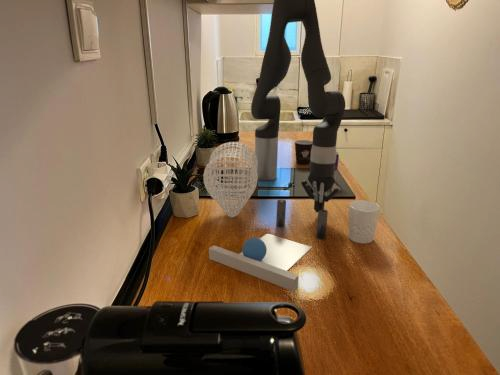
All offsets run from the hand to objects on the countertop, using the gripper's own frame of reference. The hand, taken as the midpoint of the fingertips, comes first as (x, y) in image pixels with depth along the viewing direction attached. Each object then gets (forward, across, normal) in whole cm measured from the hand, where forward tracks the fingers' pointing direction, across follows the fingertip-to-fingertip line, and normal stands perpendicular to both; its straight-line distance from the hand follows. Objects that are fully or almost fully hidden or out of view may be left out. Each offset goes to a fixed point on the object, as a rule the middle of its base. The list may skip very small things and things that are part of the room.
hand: (318, 211), depth 120 cm
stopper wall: (+2, 0, -39) cm, 39 cm away
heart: (+2, -22, -16) cm, 27 cm away
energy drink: (+2, -10, +33) cm, 35 cm away
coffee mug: (+2, -29, +51) cm, 59 cm away
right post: (+2, +6, -13) cm, 15 cm away
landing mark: (+2, 0, -27) cm, 27 cm away
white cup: (+2, +16, -7) cm, 18 cm away
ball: (-2, -2, -34) cm, 34 cm away
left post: (+2, -6, -13) cm, 15 cm away
